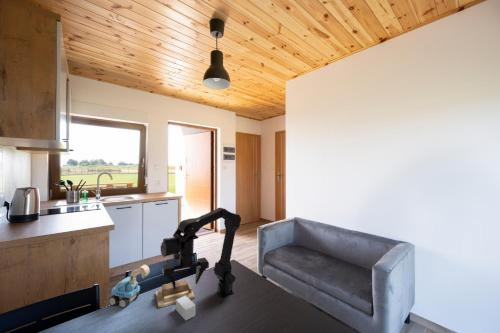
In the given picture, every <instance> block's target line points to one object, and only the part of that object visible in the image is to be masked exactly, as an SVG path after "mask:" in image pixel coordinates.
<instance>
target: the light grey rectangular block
mask: <svg viewBox="0 0 500 333" xmlns="http://www.w3.org/2000/svg"><path fill="white" fill-rule="evenodd" d="M196 307H197V306H196V304H195V303H194V302H193V301H192V299H189V298H188V297H187V296H183V297H181V298H179V299H176V303H175V310H176V312H177V313H178V314H179V315H180V317H182V318H183V320H184V321H188V320H189V319H191V318H193V317H195V316H196V313H197V312H196Z"/></svg>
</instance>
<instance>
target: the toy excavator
mask: <svg viewBox="0 0 500 333" xmlns="http://www.w3.org/2000/svg"><path fill="white" fill-rule="evenodd" d="M150 272H151V271H150V267H149V266H148V265H147V264H143V265H141V266H139V268H137V269H135V270H133V271H131V272H130V276H127V277H125V278H123V279H122V280H120V281H119V282H117V283H116V285H115V286H114V287H113V288H112V289H111V293H110V294H111V296H110V297H109V298H108V304H109V305H110V306H116V305H117V304H118V305H119V308H121V309H124V308H126V307H127V306H128V305H130V303H131V302H133V301H134V300H136V299H137V298H138V297H139V296H140V292H141V291H140V290H141V286H140V285H139V282H138V281H137V276H138V275H141V278H142V279H144V278H146V277H147V276H148V275H149V274H150ZM116 303H117V304H116ZM113 304H115V305H113Z"/></svg>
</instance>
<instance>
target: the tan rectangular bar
mask: <svg viewBox="0 0 500 333" xmlns="http://www.w3.org/2000/svg"><path fill="white" fill-rule="evenodd" d="M188 284H189V283H188V282H187V279H182V280H178V281H175V290H174V287H173V284H172V282H169V283H165V284H162V287H161V290H162V296H163V299H164V296H168V295H172V294H176V293H180V292H184V291H188Z"/></svg>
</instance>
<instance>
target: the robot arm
mask: <svg viewBox="0 0 500 333" xmlns="http://www.w3.org/2000/svg"><path fill="white" fill-rule="evenodd" d="M220 219H223V221H224V223H223V224H224V228H225V232H224V239H223V243H222V248H221V254H220V259H219V260H218V261H216V262H215V263H214V268H213V271H214V275H215V276H216V278H217V279H218V283H217V293H218V294H219V295H220V297H221V298H224V297H226V296H228V297H229V296H231V295H234V293H235V292H234V291H233V283H235V281H236V276H235V275H234V274H233V273H232V271H233V270H232V269H233V267H232V263H231V258H232V257H231V256H232V253H233V246H234V241H235V236H236V232H237V230H238V229H239V228H240V226H241V223H242V217H241V215H240V214H239V213H234V212H232V211H229V210H228V209H226V208H223V207H217V208H216V209H213V210H211V211H209V212H207V213H205V214H202V215H200V216H199V217H194V218H188V219H183V220H181V221H180V222H179V224H178V227H177V228H176V230H175V232H174V233H173V234H172V237H169V238H167V237H166V238H163V239H162V242H161V245H160V253H161V256H162V257H163V258H164V257H165V258H166V257H169V256H172V255H173V256H172V257H173V261H176V260H177V263H178V265H174V264H173V263H167V264H162V267H161V268H162V269H161V272H162V276H163V277H164V278H166V279H170V281H171V282H170V283H172V284H173V287H174V290H175V282H176V276H175V272H177V271H183V270H187V269H192V268H196V272H195V285H198V283H199V281H200V279H201V276H202V275H203V273H204V272H205V271H207V269H209V268H210V262H209V261H208V258H206V257H200V258H197V259H196V261H194V256H195V255H194V243H195V240H197V239H199V236H198V235H197V233H198V232H199V231H200V230H201V229H202V228H203V227H205V226H207V225H209V224H211V223H213V222H216V221H217V220H220Z"/></svg>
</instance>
